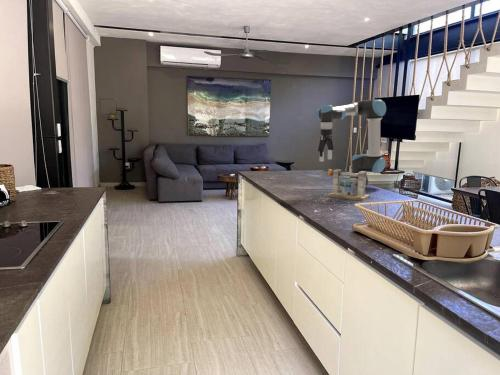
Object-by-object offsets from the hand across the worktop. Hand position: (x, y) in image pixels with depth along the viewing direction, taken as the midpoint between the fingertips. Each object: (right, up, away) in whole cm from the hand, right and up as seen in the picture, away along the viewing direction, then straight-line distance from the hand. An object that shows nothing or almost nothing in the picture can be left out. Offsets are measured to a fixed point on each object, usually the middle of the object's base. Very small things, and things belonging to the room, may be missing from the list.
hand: (325, 160), depth 255 cm
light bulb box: (+14, -23, -6) cm, 28 cm away
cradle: (+14, -25, -6) cm, 29 cm away
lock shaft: (+12, -12, -7) cm, 18 cm away
